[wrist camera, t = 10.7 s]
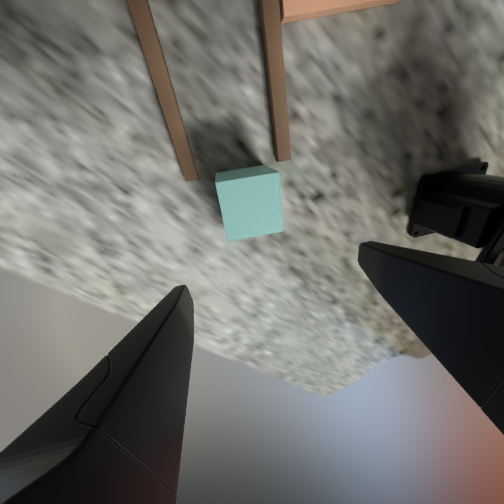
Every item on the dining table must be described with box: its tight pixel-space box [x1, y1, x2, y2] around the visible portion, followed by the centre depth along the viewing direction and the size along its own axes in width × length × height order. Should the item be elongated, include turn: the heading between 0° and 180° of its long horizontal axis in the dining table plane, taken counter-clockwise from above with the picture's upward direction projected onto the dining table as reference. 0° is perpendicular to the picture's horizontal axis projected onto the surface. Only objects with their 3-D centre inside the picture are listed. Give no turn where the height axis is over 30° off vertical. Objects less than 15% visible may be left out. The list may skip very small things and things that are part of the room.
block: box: [215, 165, 283, 242], centre depth 16 cm, size 4×4×5 cm
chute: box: [127, 0, 291, 181], centre depth 12 cm, size 8×18×1 cm, turn 10°
